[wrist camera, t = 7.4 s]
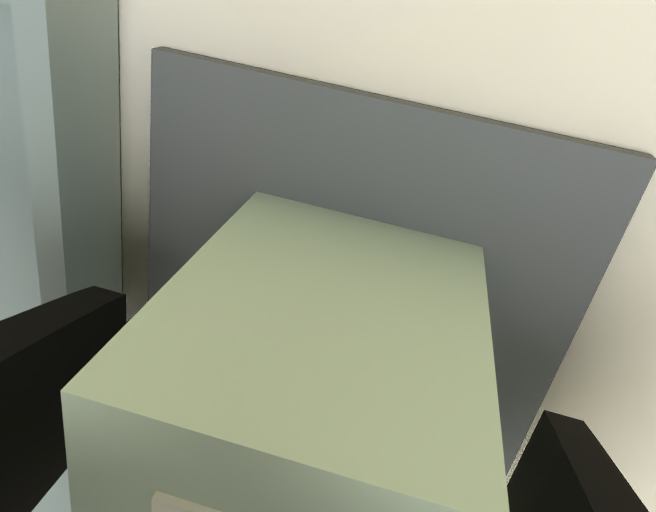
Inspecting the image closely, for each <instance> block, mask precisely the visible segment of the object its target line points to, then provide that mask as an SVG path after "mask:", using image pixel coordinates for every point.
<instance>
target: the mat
mask: <svg viewBox="0 0 656 512" xmlns="http://www.w3.org/2000/svg"><path fill="white" fill-rule="evenodd" d="M655 169H656V158H655V157H654V156H652V155H651V154H646V153H642V152H637V151H633V150H628V149H624V148H619V147H615V146H610V145H606V144H601V143H596V142H592V141H587V140H583V139H578V138H574V137H569V136H565V135H560V134H556V133H551V132H547V131H542V130H538V129H533V128H528V127H524V126H519V125H515V124H510V123H506V122H501V121H497V120H492V119H488V118H483V117H479V116H474V115H470V114H465V113H460V112H456V111H451V110H447V109H442V108H438V107H433V106H429V105H424V104H420V103H415V102H411V101H406V100H402V99H397V98H392V97H388V96H383V95H379V94H374V93H370V92H365V91H361V90H356V89H352V88H347V87H343V86H338V85H334V84H329V83H324V82H320V81H315V80H311V79H306V78H302V77H297V76H293V75H288V74H284V73H279V72H275V71H270V70H266V69H261V68H256V67H252V66H247V65H243V64H238V63H234V62H229V61H225V60H220V59H216V58H211V57H207V56H202V55H197V54H193V53H188V52H184V51H179V50H175V49H170V48H166V47H158V48H153V49H152V53H151V132H150V211H149V291H148V301H149V300H150V299H151V298H152V297H153V296H154V295H155V294H156V293H157V292H158V291H159V290H160V289H161V288H162V287H163V286H164V285H165V284H166V283H167V282H168V281H169V280H170V279H171V278H172V277H173V276H174V275H175V274H176V273H177V272H178V271H179V270H180V269H181V268H182V267H183V266H184V265H185V264H186V263H187V262H188V261H189V260H190V259H191V258H192V257H193V256H194V254H195V253H196V252H197V251H198V250H199V249H200V248H201V247H202V246H203V245H204V244H205V243H206V242H207V241H208V240H209V239H210V238H211V237H212V236H213V235H214V234H215V233H216V232H217V231H218V230H219V229H220V228H221V227H222V226H223V225H224V224H225V223H226V222H227V221H228V220H229V219H230V218H231V217H232V216H233V215H234V214H235V213H236V212H237V211H238V210H239V209H240V208H241V207H242V206H243V205H244V204H245V203H246V202H247V201H248V200H249V199H250V198H251V197H252V196H253V195H254V194H255V193H256V192H261V193H265V194H269V195H273V196H277V197H281V198H285V199H289V200H294V201H298V202H302V203H306V204H310V205H314V206H318V207H322V208H326V209H330V210H334V211H338V212H342V213H346V214H350V215H354V216H359V217H363V218H367V219H371V220H375V221H379V222H383V223H387V224H391V225H395V226H399V227H403V228H407V229H411V230H415V231H419V232H423V233H428V234H432V235H436V236H440V237H444V238H448V239H452V240H456V241H460V242H464V243H468V244H472V245H476V246H480V247H483V254H484V264H485V274H486V284H487V294H488V304H489V314H490V324H491V334H492V343H493V353H494V363H495V373H496V383H497V393H498V403H499V413H500V423H501V433H502V443H503V453H504V462H505V472H506V475H507V473H508V471H509V469H510V467H511V465H512V463H513V461H514V459H515V457H516V454H517V452H518V450H519V448H520V446H521V444H522V442H523V440H524V438H525V436H526V434H527V432H528V430H529V428H530V426H531V424H532V422H533V420H534V417H535V415H536V413H537V411H538V409H539V407H540V405H541V403H542V401H543V399H544V397H545V395H546V393H547V391H548V389H549V387H550V385H551V383H552V380H553V378H554V376H555V374H556V372H557V370H558V368H559V366H560V364H561V362H562V360H563V358H564V356H565V354H566V352H567V350H568V348H569V346H570V343H571V341H572V339H573V337H574V335H575V333H576V331H577V329H578V327H579V325H580V323H581V321H582V319H583V317H584V315H585V313H586V311H587V308H588V306H589V304H590V302H591V300H592V298H593V296H594V294H595V292H596V290H597V288H598V286H599V284H600V282H601V280H602V278H603V276H604V274H605V271H606V269H607V267H608V265H609V263H610V261H611V259H612V257H613V255H614V253H615V251H616V249H617V247H618V245H619V243H620V241H621V239H622V237H623V234H624V232H625V230H626V228H627V226H628V224H629V222H630V220H631V218H632V216H633V214H634V212H635V210H636V208H637V206H638V204H639V202H640V200H641V197H642V195H643V193H644V191H645V189H646V187H647V185H648V183H649V181H650V179H651V177H652V175H653V173H654V171H655Z"/></svg>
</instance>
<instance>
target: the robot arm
mask: <svg viewBox="0 0 656 512" xmlns="http://www.w3.org/2000/svg"><path fill="white" fill-rule="evenodd" d="M125 325H126V294H122V293H119V292H115V291H111V290H108V289H104V288H101V287H97V286H91V287H88V288H85V289H82V290H79V291H76V292H73V293H71V294H68V295H65V296H62V297H60V298H57V299H55V300H52V301H49V302H47V303H44V304H42V305H39V306H37V307H34V308H31V309H29V310H26V311H24V312H21V313H19V314H16V315H14V316H11V317H8V318H6V319H3V320H1V321H0V512H32V510H33V509H34V508H35V507H36V506H37V504H38V503H39V502H40V501H41V500H42V498H43V497H44V496H45V495H46V494H47V492H48V491H49V490H50V489H51V488H52V486H53V485H54V484H55V483H56V481H57V480H58V479H59V478H60V477H61V475H62V474H63V473H64V472H65V471H66V469H67V458H66V447H65V436H64V425H63V414H62V403H61V392H60V391H61V390H62V389H63V388H64V387H65V386H66V384H67V383H68V382H69V381H70V380H71V379H72V378H73V377H74V376H75V375H76V374H77V373H78V372H79V371H80V370H81V369H82V368H83V367H84V366H85V365H86V364H87V363H88V362H89V361H90V360H91V359H92V358H93V357H94V356H95V355H96V354H97V353H98V352H99V351H100V350H101V349H102V348H103V347H104V346H105V345H106V344H107V343H108V342H109V341H110V340H111V339H112V338H113V337H114V336H115V335H116V334H117V333H118V332H119V331H120V330H121V329H122V328H123V327H124V326H125ZM507 492H508V502H509V512H649V511H648V510H647V508H646V507H645V506H644V504H643V503H642V502H641V500H640V499H639V497H638V496H637V494H636V493H635V492H634V490H633V489H632V487H631V486H630V485H629V483H628V482H627V480H626V479H625V478H624V476H623V475H622V473H621V472H620V471H619V469H618V468H617V466H616V465H615V464H614V462H613V461H612V459H611V458H610V457H609V455H608V454H607V452H606V451H605V449H604V448H603V447H602V445H601V444H600V443H599V441H598V440H597V438H596V437H595V436H594V434H593V433H592V432H591V430H590V429H589V428H588V426H587V425H586V424H585V422H584V421H582V420H578V419H574V418H571V417H567V416H564V415H560V414H556V413H553V412H549V411H546V410H544V412H543V414H542V416H541V418H540V420H539V422H538V424H537V426H536V428H535V430H534V432H533V434H532V436H531V438H530V440H529V442H528V444H527V446H526V448H525V450H524V452H523V454H522V456H521V458H520V460H519V462H518V464H517V466H516V468H515V470H514V472H513V475H512V477H511V479H510V481H509V483H508V485H507Z"/></svg>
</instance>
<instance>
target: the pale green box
mask: <svg viewBox="0 0 656 512" xmlns="http://www.w3.org/2000/svg"><path fill="white" fill-rule="evenodd" d="M60 392H61V403H62V414H63V425H64V436H65V447H66V458H67V469H68V480H69V491H70V502H71V512H509V502H508V492H507V482H506V472H505V462H504V453H503V443H502V433H501V423H500V413H499V403H498V393H497V383H496V373H495V363H494V353H493V343H492V334H491V324H490V314H489V304H488V294H487V284H486V274H485V264H484V254H483V247H480V246H476V245H472V244H468V243H464V242H460V241H456V240H452V239H448V238H444V237H440V236H436V235H432V234H428V233H423V232H419V231H415V230H411V229H407V228H403V227H399V226H395V225H391V224H387V223H383V222H379V221H375V220H371V219H367V218H363V217H359V216H354V215H350V214H346V213H342V212H338V211H334V210H330V209H326V208H322V207H318V206H314V205H310V204H306V203H302V202H298V201H294V200H289V199H285V198H281V197H277V196H273V195H269V194H265V193H261V192H256V193H255V194H254V195H253V196H252V197H251V198H250V199H249V200H248V201H247V202H246V203H245V204H244V205H243V206H242V207H241V208H240V209H239V210H238V211H237V212H236V213H235V214H234V215H233V216H232V217H231V218H230V219H229V220H228V221H227V222H226V223H225V224H224V225H223V226H222V227H221V228H220V229H219V230H218V231H217V232H216V233H215V234H214V235H213V236H212V237H211V238H210V239H209V240H208V241H207V242H206V243H205V244H204V245H203V246H202V247H201V248H200V249H199V250H198V251H197V252H196V253H195V254H194V256H193V257H192V258H191V259H190V260H189V261H188V262H187V263H186V264H185V265H184V266H183V267H182V268H181V269H180V270H179V271H178V272H177V273H176V274H175V275H174V276H173V277H172V278H171V279H170V280H169V281H168V282H167V283H166V284H165V285H164V286H163V287H162V288H161V289H160V290H159V291H158V292H157V293H156V294H155V295H154V296H153V297H152V298H151V299H150V300H149V301H148V302H147V303H146V304H145V305H144V306H143V307H142V308H141V309H140V310H139V311H138V312H137V313H136V314H135V315H134V316H133V317H132V318H131V319H130V321H129V322H128V323H127V324H126V325H125V326H124V327H123V328H122V329H121V330H120V331H119V332H118V333H117V334H116V335H115V336H114V337H113V338H112V339H111V340H110V341H109V342H108V343H107V344H106V345H105V346H104V347H103V348H102V349H101V350H100V351H99V352H98V353H97V354H96V355H95V356H94V357H93V358H92V359H91V360H90V361H89V362H88V363H87V364H86V365H85V366H84V367H83V368H82V369H81V370H80V371H79V372H78V373H77V374H76V375H75V376H74V377H73V378H72V379H71V380H70V381H69V382H68V383H67V384H66V386H65V387H64V388H63V389H62V390H61V391H60Z"/></svg>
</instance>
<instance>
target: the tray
mask: <svg viewBox="0 0 656 512" xmlns="http://www.w3.org/2000/svg"><path fill="white" fill-rule="evenodd" d="M91 286H97V287H101V288H104V289H108V290H111V291H115V292H119V293H122V249H121V183H120V118H119V53H118V0H0V321H1V320H3V319H6V318H8V317H11V316H14V315H16V314H19V313H21V312H24V311H26V310H29V309H31V308H34V307H37V306H39V305H42V304H44V303H47V302H49V301H52V300H55V299H57V298H60V297H62V296H65V295H68V294H71V293H73V292H76V291H79V290H82V289H85V288H88V287H91ZM32 512H71V502H70V491H69V480H68V469H66V471H65V472H64V473H63V474H62V475H61V477H60V478H59V479H58V480H57V481H56V483H55V484H54V485H53V486H52V488H51V489H50V490H49V491H48V492H47V494H46V495H45V496H44V497H43V498H42V500H41V501H40V502H39V503H38V504H37V506H36V507H35V508H34V509H33V510H32Z"/></svg>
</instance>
